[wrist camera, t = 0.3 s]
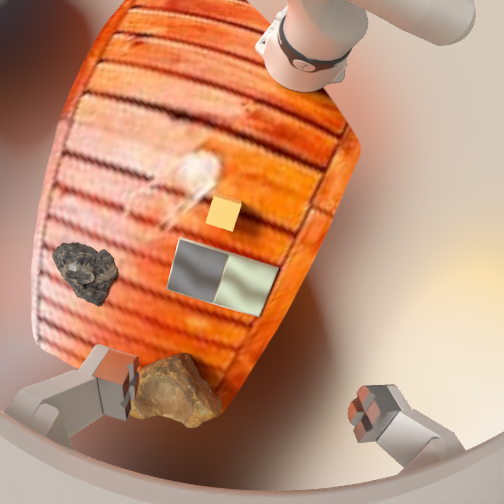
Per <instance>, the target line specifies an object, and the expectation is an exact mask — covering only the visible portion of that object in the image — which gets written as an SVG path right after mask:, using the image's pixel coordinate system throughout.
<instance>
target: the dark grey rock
mask: <svg viewBox="0 0 504 504" xmlns="http://www.w3.org/2000/svg"><path fill="white" fill-rule="evenodd" d="M52 257H53V260H54V262H55V264H56V266H57V268H58V270H59V271H60V272H61V275H62V276H63V277H64V279H65V280H66V281H67V282H68V284H69V285H70V286H71V287H72V288H73V291H74V292H75V294H76V295H77V297H80V298H83V299H85V300H86V301H88V302H91V303H94V304H95V305H97V306H101V305H102V303H104V301H105V298H106V297H107V291H108V290H109V289H108V288H109V287H110V284H111V283H112V282H113V280H114V278H115V277H116V276H117V267H116V266H115V265H114V262H113V260H114V259H113V257H112V256H111V254H110V253H108V252H107V251H106V250H105V249H103V250H101V251H100V253H98V252H97V251H96V250H95V249H94V248H92V247H89V246H85V245H82V244H80V243H71V244H66V243H62V244H61V245H60V246H59V247H57V249H55V253H53V254H52Z"/></svg>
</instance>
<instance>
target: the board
mask: <svg viewBox="0 0 504 504" xmlns="http://www.w3.org/2000/svg"><path fill="white" fill-rule="evenodd" d="M278 269H279V267H276V266H273V265H270V264H266V263H263V262H260V261H257V260H253V259H250V258H247V257H244V256H241V255H237V254H234V253H231V252H228V251H225V250H222V249H218V248H215V247H212V246H209V245H206V244H202V243H199V242H196V241H193V240H190V239H187V238H183V237H179V240H178V244H177V248H176V252H175V255H174V259H173V263H172V267H171V271H170V275H169V280H168V284H167V288H166V289H167V290H170V291H173V292H176V293H179V294H182V295H185V296H188V297H192V298H195V299H198V300H201V301H205V302H208V303H211V304H215V305H218V306H221V307H225V308H228V309H232V310H235V311H239V312H242V313H246V314H250V315H253V316H257V317H259V316H260V314H261V311H262V309H263V307H264V304H265V302H266V299H267V297H268V294H269V292H270V289H271V287H272V284H273V282H274V279H275V277H276V274H277V272H278Z"/></svg>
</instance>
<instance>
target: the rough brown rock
mask: <svg viewBox="0 0 504 504" xmlns="http://www.w3.org/2000/svg"><path fill="white" fill-rule="evenodd" d="M138 373H139V386H138V391H137V394H136V397H135V399H133V400H131V410H130V415H132V416H133V417H136V418H139V419H145V418H149V417H151V416H157V415H158V416H164V417H168V418H172V419H174V420H177V421H180V422H182V423H183V424H184V425H185V426H186V427H189V428H195V427H198V426H200V425H201V423H202V422H204V421H208V420H210V419H212V418H214V417H216V416H218V415H220V414H221V412H222V409H223V404H222V401H221V399H220V397H219V396H218V395H217V394H214V393H212V390H211V387H210V386H209V384H208V383H207V382H206V381H205V380H204V379H203V378H201V376H200V374H199V372H198V369H197V368H196V367H195V365H194V362H193V360H192V358H191V356H190V355H188V354H186V353H179V354H177V355H173V356H169V357H166V358H163V359H160V360H157V361H155V362H153V363H151V364H149V365H147V366H144V367H143V368H141V369H140V370H139V371H138Z"/></svg>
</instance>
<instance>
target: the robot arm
mask: <svg viewBox="0 0 504 504" xmlns="http://www.w3.org/2000/svg"><path fill="white" fill-rule="evenodd" d="M287 1H288V5H287V6H286V7H285V9H284V10H283V11H279V12H278V14H277V15H276V17H275V21H274V22H273V23H272V24H271V25H270V27H269V28H268V29H267V31H266V32H265V33H264V34H263V36H262V37H261V38H260V40H259V41H258V42H257V44H256V46H255V50H256V51H257V52H258V54H259V55H260V56H261V57H262V58H263V60H264V62H265V65H266V68H267V70H268V72H269V74H270V75H271V76H272V78H273V79H274V80H275V81H277V82H278V83H279V84H281V85H282V86H284V87H286V88H288V89H291V90H294V91H299V92H311V91H316V90H319V89H321V88H323V87H324V86H326V85H327V84H330V83H338V82H341V81H342V80H343V79H344V76H345V68H346V66H347V63H346V58H347V56H348V55H349V53H350V52H351V49H352V47H353V46H355V45H356V44H357V42H359V41H360V40H361V39H362V38H363V37H364V35H365V34H366V31H367V28H368V18H367V14H366V11H365V10H367V11H369V12H371V13H373V14H375V15H377V16H378V17H380V18H382V19H384V20H386V21H388V22H389V23H391V24H393V25H395V26H396V27H398V28H400V29H401V30H404V31H406V32H408V33H411V34H413V35H415V36H417V37H419V38H422V39H424V40H426V41H428V42H431V43H433V44H435V45H438V46H444V45H450V44H454V43H456V42H458V41H460V40H462V39H463V38H465V37H466V36H467V35H468V34H469V32H470V31H471V29H472V28H473V25H474V22H475V15H476V13H475V4H474V1H473V0H287ZM263 42H265V44H263ZM138 366H139V357H138V356H136V355H132V354H129V353H126V352H123V351H120V350H116V349H113V348H110V347H107V346H104V345H101V344H98V345H96V346H95V347H94V349H93V350H92V351H91V353H90V354H89V356H88V357H87V359H86V360H85V361H84V363H83V364H82V366H81V367H80V369H79V370H78V371H77V370H72V371H69V372H67V373H64V374H61V375H59V376H56V377H53V378H50V379H48V380H45V381H42V382H39V383H36V384H34V385H31V386H28V387H25V388H22V389H21V390H20V391H19V392H18V394H17V395H16V397H15V398H14V399H13V400H12V402H11V403H10V404H9V406H8V407H7V408H6V410H5V411H4V412H3V411H1V410H0V504H504V432H502V433H500V434H499V435H497V436H495V437H493V438H491V439H489V440H487V441H485V442H483V443H481V444H479V445H477V446H475V447H473V448H471V449H469V450H465V449H464V447H463V446H462V444H461V443H460V441H459V440H458V438H457V437H456V435H455V434H454V432H452V431H450V430H448V429H447V428H445V427H443V426H442V425H440V424H438V423H437V422H435V421H433V420H431V419H430V418H428V417H427V416H425V415H423V414H422V413H420V412H418V411H417V410H415V409H411V407H410V406H409V404H408V403H407V401H406V400H405V398H404V397H403V395H402V394H401V392H400V391H399V389H398V387H397V386H396V385H394V384H390V385H371V386H362V387H361V388H360V389H359V390H358V392H357V396H358V397H357V398H355V399H354V400H353V401H352V402H351V404H350V406H349V408H348V419H349V421H350V423H351V424H352V425H354V426H355V428H354V430H353V431H354V434H355V436H356V439H357V441H358V443H363V442H374V441H376V443H377V444H378V445H379V446H380V447H382V448H383V449H384V450H385V451H386V452H387V453H388V454H389V455H391V456H392V457H393V458H394V459H395V460H396V461H397V462H398V463H399V464H400V465H402V466H403V467H404V469H403V470H402V471H401V472H400V473H399V474H398V475H395V476H391V477H387V478H382V479H378V480H373V481H368V482H364V483H357V484H352V485H345V486H338V487H331V488H321V489H309V490H292V491H251V490H234V489H221V488H213V487H204V486H198V485H191V484H185V483H180V482H175V481H169V480H165V479H160V478H156V477H152V476H148V475H144V474H140V473H137V472H133V471H130V470H126V469H123V468H119V467H117V466H114V465H111V464H108V463H105V462H102V461H99V460H97V459H94V458H91V457H89V456H86V455H84V454H81V453H79V452H77V451H75V450H74V448H73V446H72V444H71V441H70V439H69V437H70V436H72V435H74V434H75V433H77V432H78V431H80V430H82V429H83V428H85V427H86V426H88V425H89V424H91V423H92V422H94V421H95V420H97V419H98V418H100V417H102V416H103V414H104V415H108V416H111V417H114V418H118V419H121V420H125V421H126V420H127V418H128V415H129V413H130V410H131V400H133V399H135V397H136V394H137V391H138V386H139V373H138V372H137V369H138Z"/></svg>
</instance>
